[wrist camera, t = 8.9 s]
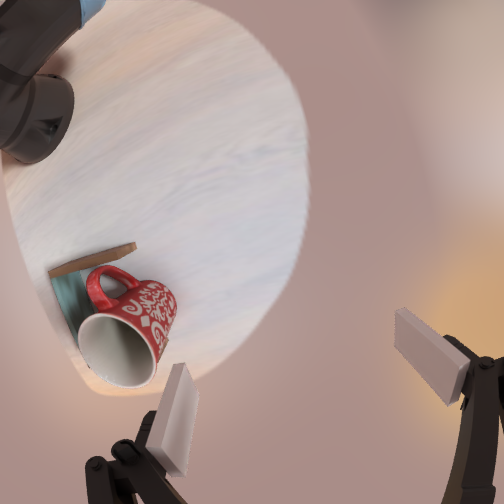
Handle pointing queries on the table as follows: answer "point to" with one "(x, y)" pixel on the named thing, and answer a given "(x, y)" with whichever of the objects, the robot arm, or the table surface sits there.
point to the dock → (82, 286)
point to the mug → (126, 329)
